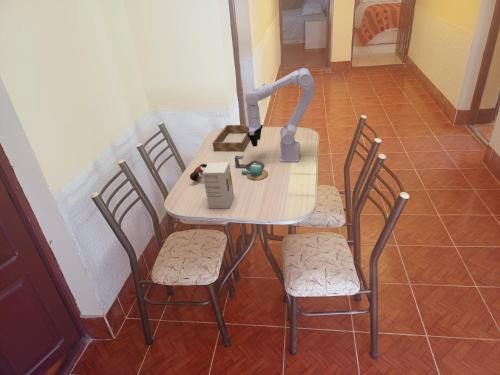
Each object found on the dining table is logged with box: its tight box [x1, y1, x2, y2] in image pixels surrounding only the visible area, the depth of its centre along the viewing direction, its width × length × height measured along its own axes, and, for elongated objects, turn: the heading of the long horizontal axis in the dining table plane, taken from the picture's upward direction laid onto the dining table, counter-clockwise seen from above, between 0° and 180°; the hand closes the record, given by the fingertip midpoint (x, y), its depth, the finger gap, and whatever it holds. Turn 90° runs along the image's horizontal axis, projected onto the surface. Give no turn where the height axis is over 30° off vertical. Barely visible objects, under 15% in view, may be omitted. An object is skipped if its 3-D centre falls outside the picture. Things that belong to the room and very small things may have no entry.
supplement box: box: [201, 161, 235, 209], centre depth 146 cm, size 10×9×17 cm
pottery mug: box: [189, 163, 208, 183], centre depth 168 cm, size 12×10×8 cm
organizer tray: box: [212, 124, 251, 153], centre depth 203 cm, size 17×26×5 cm, turn 166°
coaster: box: [246, 168, 269, 182], centre depth 168 cm, size 10×10×1 cm
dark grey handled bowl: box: [234, 155, 265, 171], centre depth 174 cm, size 14×9×6 cm, turn 76°
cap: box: [241, 164, 262, 177], centre depth 167 cm, size 10×5×4 cm, turn 70°
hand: (256, 142), depth 176 cm, fingers open, 7 cm apart
